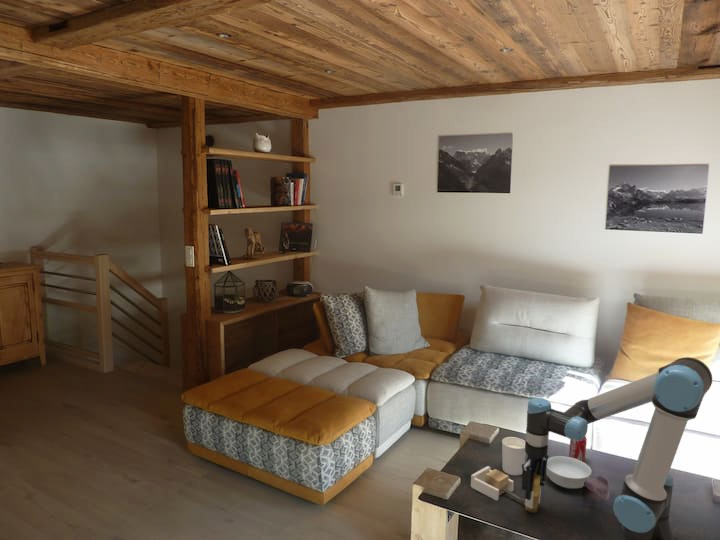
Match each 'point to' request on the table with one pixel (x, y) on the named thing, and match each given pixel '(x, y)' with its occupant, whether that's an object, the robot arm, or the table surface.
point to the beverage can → (578, 449)
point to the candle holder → (513, 455)
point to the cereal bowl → (568, 471)
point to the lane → (485, 488)
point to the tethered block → (501, 483)
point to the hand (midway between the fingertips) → (532, 504)
